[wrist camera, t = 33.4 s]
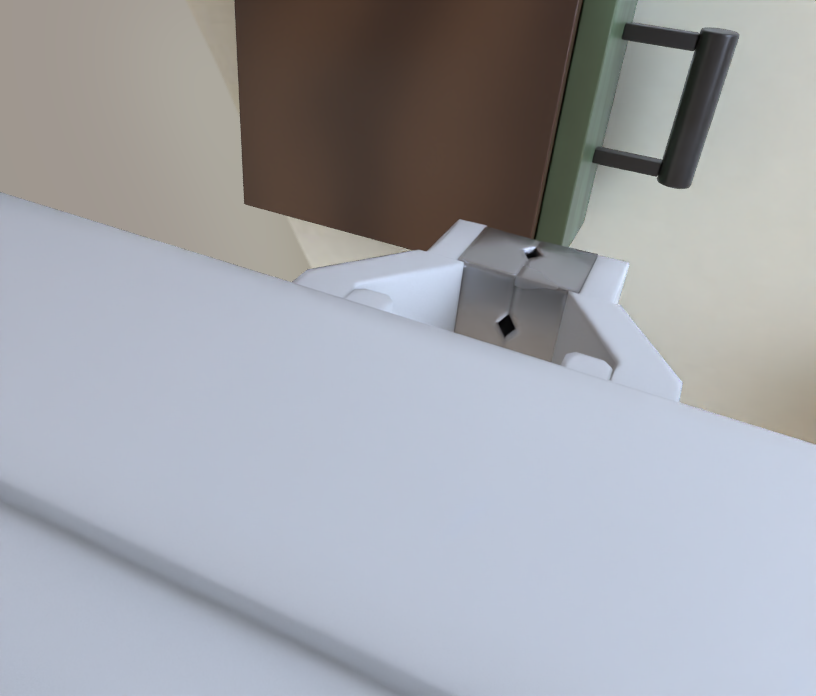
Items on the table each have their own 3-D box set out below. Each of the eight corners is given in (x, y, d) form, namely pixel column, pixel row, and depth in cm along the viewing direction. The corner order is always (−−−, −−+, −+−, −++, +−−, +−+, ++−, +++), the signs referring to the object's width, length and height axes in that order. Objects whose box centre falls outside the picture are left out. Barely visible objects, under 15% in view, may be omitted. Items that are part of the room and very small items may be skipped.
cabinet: (636, -109, 28) (602, -116, 22) (561, 223, 36) (522, 280, 30) (322, -141, 32) (226, -152, 26) (317, 163, 40) (243, 204, 34)
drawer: (774, -76, 26) (776, -74, 21) (671, 244, 33) (656, 294, 29) (353, -121, 31) (285, -127, 27) (343, 165, 38) (289, 197, 34)
